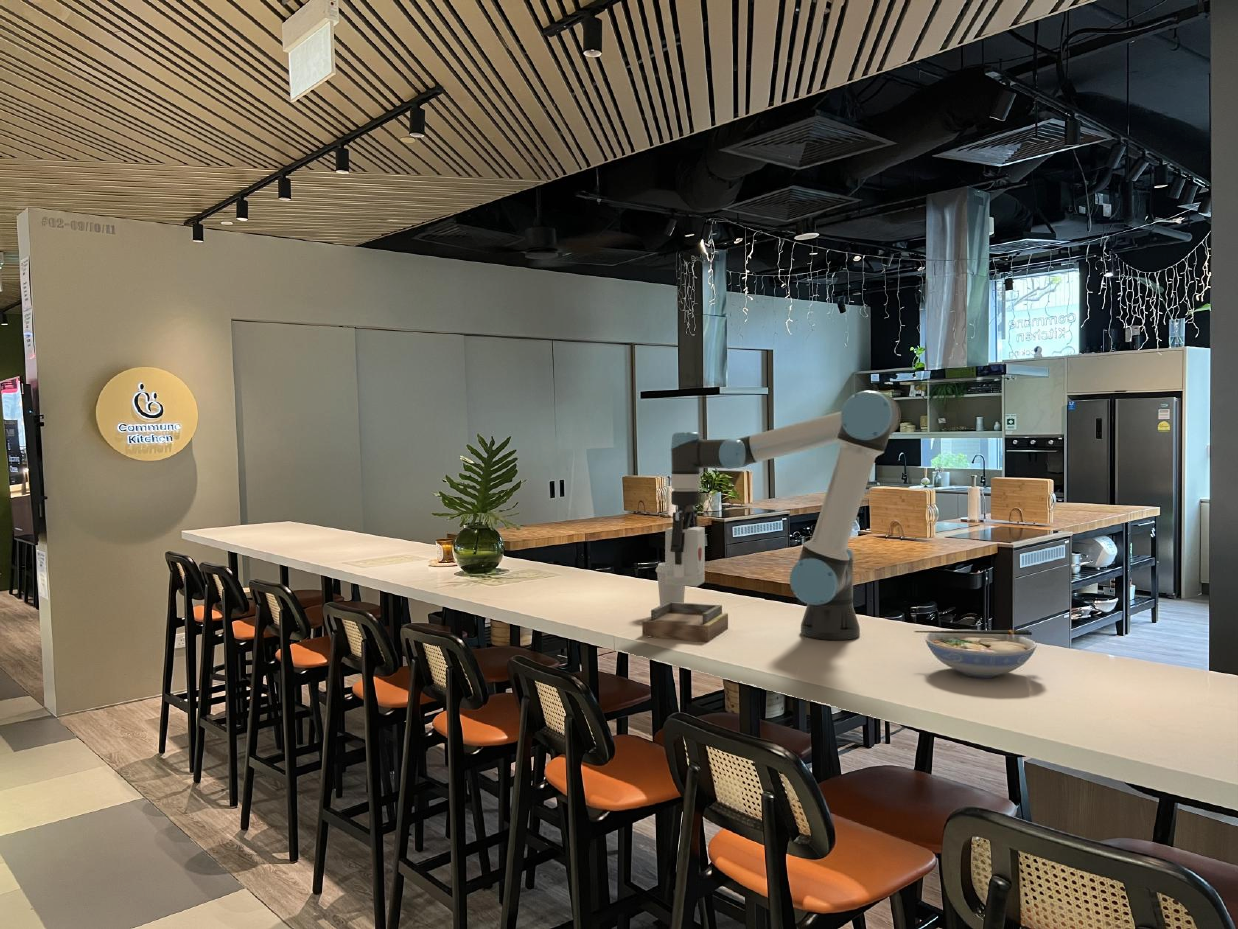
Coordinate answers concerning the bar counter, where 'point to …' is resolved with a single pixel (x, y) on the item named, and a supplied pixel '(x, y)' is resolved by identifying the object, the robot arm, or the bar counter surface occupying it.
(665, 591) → the coffee cup
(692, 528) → the supplement box
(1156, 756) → the bar counter surface
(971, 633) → the ramen bowl
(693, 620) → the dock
